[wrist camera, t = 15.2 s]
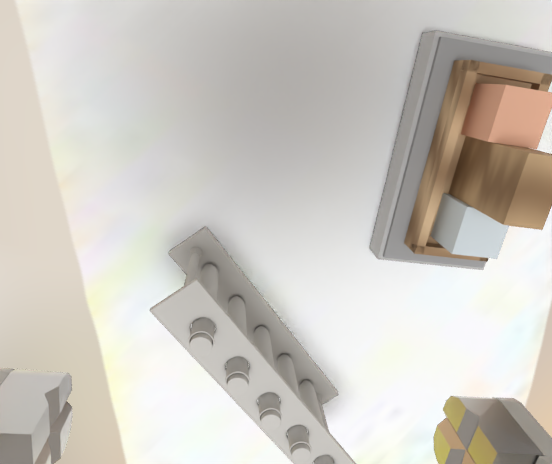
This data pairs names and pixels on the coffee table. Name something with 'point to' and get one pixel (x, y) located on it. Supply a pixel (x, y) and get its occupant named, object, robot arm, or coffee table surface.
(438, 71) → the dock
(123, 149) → the coffee table surface
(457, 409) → the robot arm
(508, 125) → the block
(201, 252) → the test tube rack
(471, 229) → the pale blue cube
